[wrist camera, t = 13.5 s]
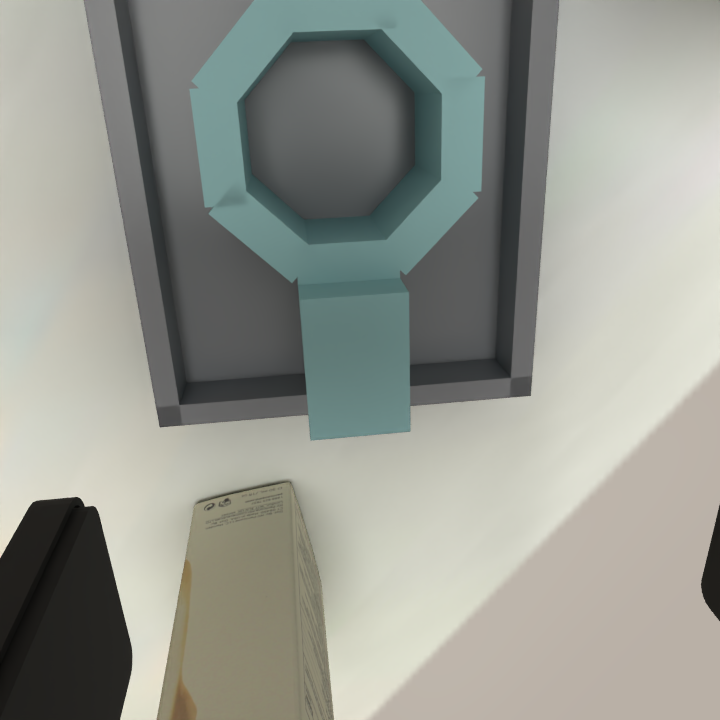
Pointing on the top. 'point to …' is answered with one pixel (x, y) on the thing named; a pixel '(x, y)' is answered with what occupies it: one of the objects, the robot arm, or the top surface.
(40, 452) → the top surface
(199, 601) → the skincare box
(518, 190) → the tray
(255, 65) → the teal magnifying glass
